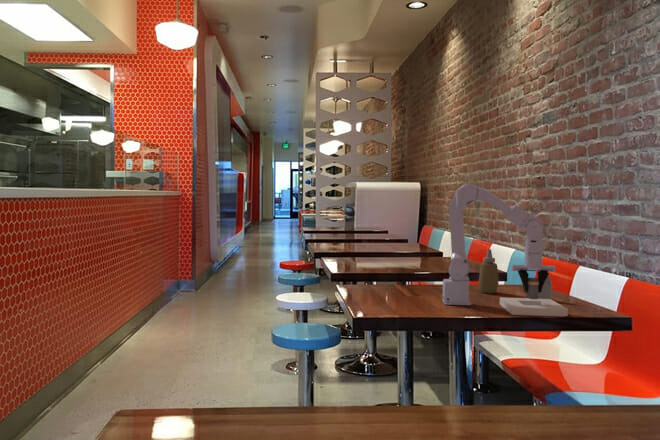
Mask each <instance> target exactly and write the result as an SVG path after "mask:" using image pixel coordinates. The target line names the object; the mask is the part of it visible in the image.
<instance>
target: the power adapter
mask: <svg viewBox="0 0 660 440" xmlns="http://www.w3.org/2000/svg"><path fill="white" fill-rule="evenodd" d="M552 294H553V282H552V281H551V275H548V277H547V278H546V280H545V282H544V285H543V287H542V291H541V293H539V294H538V299H551V300H552V298H553V297H552V296H553V295H552Z"/></svg>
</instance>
